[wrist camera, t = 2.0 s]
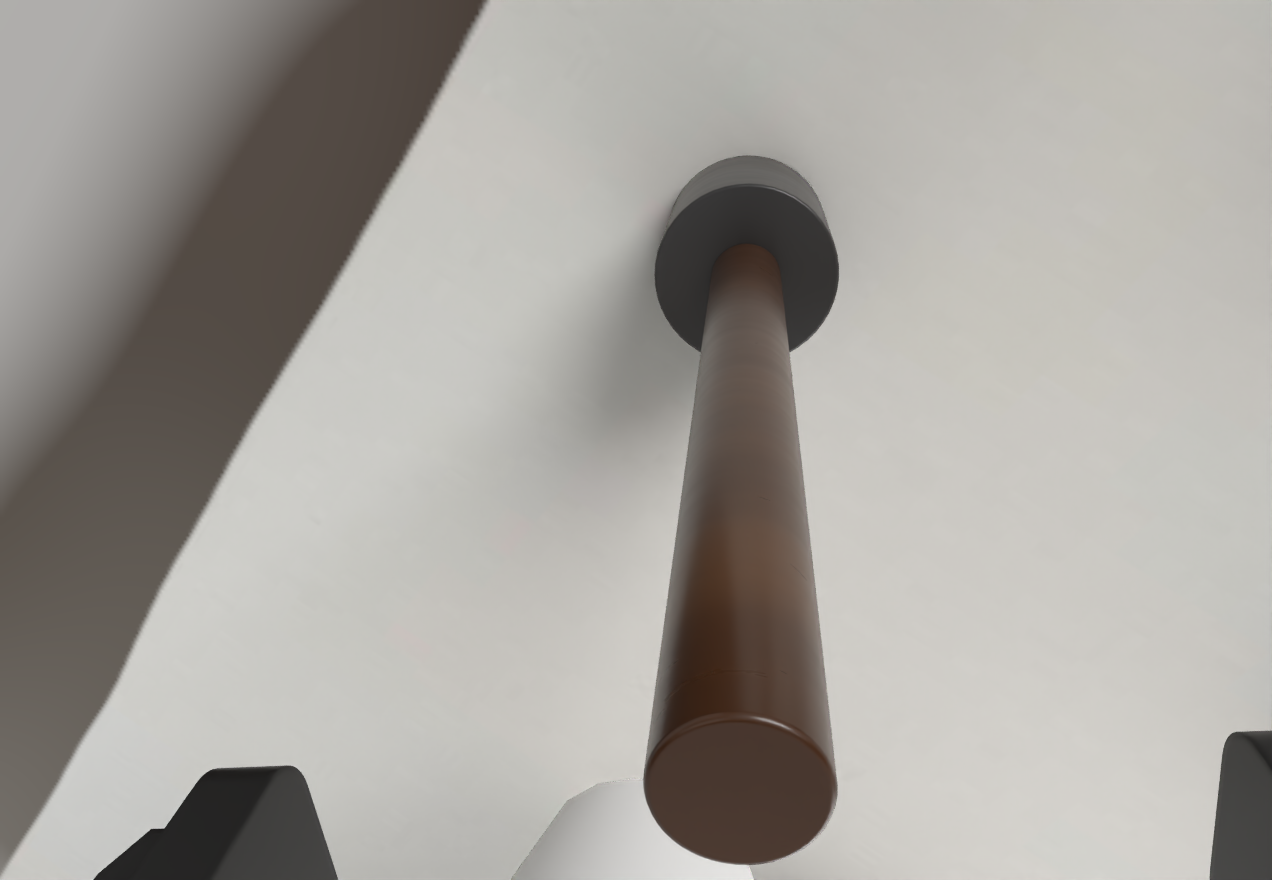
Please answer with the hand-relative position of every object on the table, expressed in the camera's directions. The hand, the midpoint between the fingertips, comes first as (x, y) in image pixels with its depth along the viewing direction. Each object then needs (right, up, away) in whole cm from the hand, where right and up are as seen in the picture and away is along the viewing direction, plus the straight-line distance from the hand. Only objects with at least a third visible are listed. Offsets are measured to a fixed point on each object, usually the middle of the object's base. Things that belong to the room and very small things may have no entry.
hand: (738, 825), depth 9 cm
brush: (+3, +10, +22) cm, 24 cm away
